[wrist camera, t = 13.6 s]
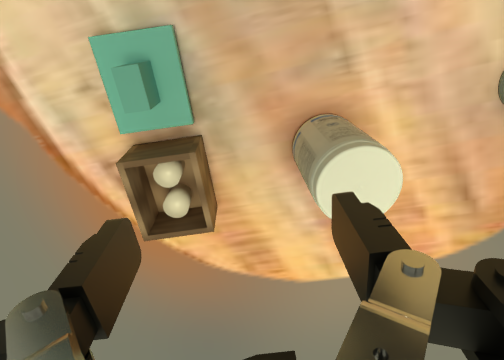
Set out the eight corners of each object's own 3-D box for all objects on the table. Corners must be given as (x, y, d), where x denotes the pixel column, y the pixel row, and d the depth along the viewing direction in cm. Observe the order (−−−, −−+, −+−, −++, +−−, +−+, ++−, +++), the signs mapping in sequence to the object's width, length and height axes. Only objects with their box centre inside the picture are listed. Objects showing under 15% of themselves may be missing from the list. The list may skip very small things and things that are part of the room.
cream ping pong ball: (157, 155, 43) (149, 165, 40) (181, 151, 43) (176, 161, 40) (164, 177, 45) (157, 189, 41) (187, 173, 45) (183, 185, 41)
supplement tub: (323, 184, 47) (355, 241, 34) (278, 149, 45) (294, 197, 31) (369, 138, 44) (424, 181, 31) (323, 97, 42) (363, 126, 28)
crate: (133, 145, 44) (115, 163, 37) (201, 135, 43) (195, 152, 37) (156, 214, 49) (144, 241, 42) (217, 206, 48) (213, 231, 42)
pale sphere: (166, 185, 46) (160, 198, 42) (189, 181, 46) (185, 194, 42) (172, 205, 47) (166, 219, 44) (194, 202, 47) (191, 216, 43)
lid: (96, 37, 38) (66, 37, 31) (174, 25, 37) (161, 23, 31) (125, 129, 43) (105, 146, 36) (195, 119, 42) (187, 134, 36)
